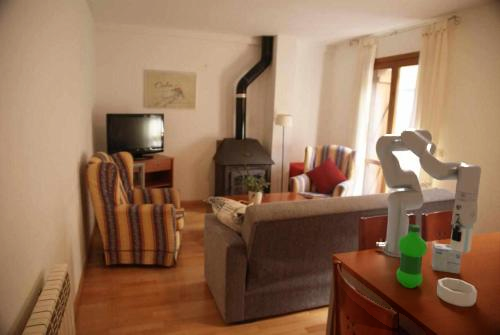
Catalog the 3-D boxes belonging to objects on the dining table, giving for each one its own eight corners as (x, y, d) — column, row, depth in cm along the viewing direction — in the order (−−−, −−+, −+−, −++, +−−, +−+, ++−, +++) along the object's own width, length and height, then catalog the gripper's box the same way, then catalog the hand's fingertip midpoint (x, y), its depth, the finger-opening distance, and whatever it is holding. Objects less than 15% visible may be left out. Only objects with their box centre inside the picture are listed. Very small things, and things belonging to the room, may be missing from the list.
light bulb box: (456, 267, 155) (459, 245, 153) (460, 274, 149) (463, 251, 147) (430, 264, 158) (432, 242, 157) (432, 270, 152) (435, 247, 150)
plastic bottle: (390, 278, 144) (395, 221, 140) (416, 279, 143) (421, 222, 139) (400, 290, 134) (406, 230, 130) (427, 291, 133) (434, 230, 129)
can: (446, 246, 141) (449, 218, 139) (464, 247, 140) (467, 219, 138) (455, 253, 134) (458, 224, 132) (474, 254, 133) (477, 224, 131)
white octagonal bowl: (440, 302, 126) (441, 290, 125) (434, 286, 137) (435, 275, 137) (479, 309, 122) (480, 297, 121) (469, 292, 133) (471, 281, 133)
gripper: (464, 200, 126) (459, 246, 128) (487, 195, 135) (482, 238, 137) (444, 196, 132) (439, 239, 135) (467, 191, 141) (463, 232, 144)
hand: (461, 238), depth 136 cm, fingers closed on can, 7 cm apart
